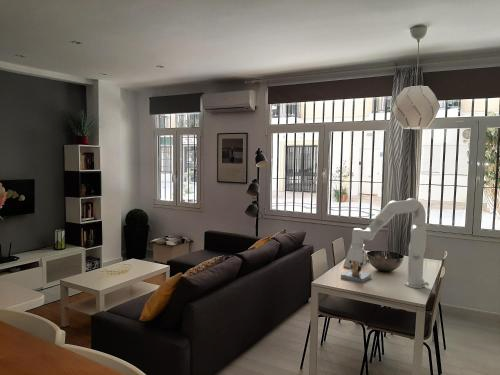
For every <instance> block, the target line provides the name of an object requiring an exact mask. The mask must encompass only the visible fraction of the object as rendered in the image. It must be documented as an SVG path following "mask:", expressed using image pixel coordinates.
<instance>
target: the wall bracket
mask: <svg viewBox="0 0 500 375" xmlns="http://www.w3.org/2000/svg"><path fill="white" fill-rule="evenodd" d="M351 247H352V242H351V243H350V246H349V249H348V251H347V255H346V257H345V260H344V262H343V266H342V267H343V268H345V269H346V268H347V269H350V268H351V263H350V262H349V261H348V260H347V259H348V257H349V254H350V249H351ZM364 253H365V261H366V262H369V261H368V259H367V255H368V253H366V251H365V250H364Z"/></svg>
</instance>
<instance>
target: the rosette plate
mask: <svg viewBox="0 0 500 375" xmlns="http://www.w3.org/2000/svg"><path fill="white" fill-rule="evenodd" d="M340 279H341V280H346V281H351V282H354V283H355V282H356V283H359V284H364V283H366V282H367V281H369V280H371V279H372V273H368V272H364V271H360V275H358V276H357V275H352V269H348V270H347V271H345V272H343V273H341V274H340ZM368 279H369V280H368Z"/></svg>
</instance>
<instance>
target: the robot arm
mask: <svg viewBox="0 0 500 375" xmlns="http://www.w3.org/2000/svg"><path fill="white" fill-rule="evenodd" d="M399 214H400V215H401V214H411V225H410V241H409V244H408V259H407V260H408V261H407V277H406V278H407V279H406V281H404V285H405V286H407V287H409V288H414V289H423V288H424V287H425V286H427V287H429V286H430V283H429V281H425V280H424V278H423V277H424V276H423V274H424V262H425V261H424V257H425V252H426V249H427V248H426V247H427V246H426V245H427V229H426V215H427V214H426V208H425V207H424V205H423V203H421V202H420V201H419V200H418V199H416V198H414V197H409V198H407V199H406V200H398V201H397V200H389V201H388V203H387V204H386V205H385V206H384V207H383V208H382V209H381V211H380V212H379V213H378V214H377V215H376V217H374V219H373V220H372V221H371V222H370V223H369V224H368V226H367V227H366V228H365V229H363V228H360V227H354V228H352V235H351V236H352V237H351V243H352V247H351V249H350V248H349V249H350V254H349V257H348V259H347V260H348V261H349V262H350V263H351V266H350V268H351V269H350V270H352V265H353V261H356V262H358V263H359V266H358V272H362V266H363V265H365V264H366V263H367V261H365V253H364V251H365V249H364V248H365V244H364V241H372V240H374V238H375V236H376V234H377V233H378V232H379V231H380V230H381V229H382V228H383V227H384V226H385V225H387V224H388V223H389V222H390V221H391V220H392V219H393V218H394V217H395V215H399Z"/></svg>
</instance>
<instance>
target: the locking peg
mask: <svg viewBox="0 0 500 375" xmlns="http://www.w3.org/2000/svg"><path fill="white" fill-rule="evenodd" d="M358 266H359V263H358V262H356V261H353V265H352V269H351V270H352V275H357V276H358V275H360V272H361V271H360V272H358Z"/></svg>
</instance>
